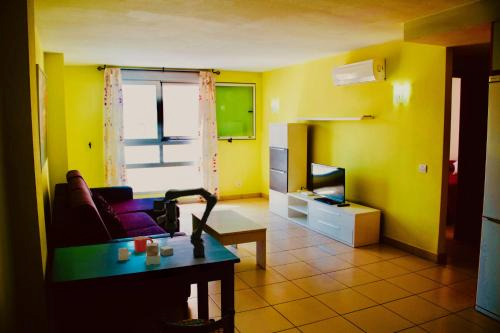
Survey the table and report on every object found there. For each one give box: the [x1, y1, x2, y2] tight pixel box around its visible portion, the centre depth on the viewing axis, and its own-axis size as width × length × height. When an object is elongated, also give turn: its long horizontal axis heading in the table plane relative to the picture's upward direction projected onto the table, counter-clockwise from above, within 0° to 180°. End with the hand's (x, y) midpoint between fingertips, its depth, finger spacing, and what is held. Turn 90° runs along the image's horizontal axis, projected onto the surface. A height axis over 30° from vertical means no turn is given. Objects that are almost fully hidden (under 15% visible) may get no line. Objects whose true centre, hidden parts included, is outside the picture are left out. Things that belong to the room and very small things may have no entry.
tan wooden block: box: [159, 245, 174, 257], centre depth 242 cm, size 6×6×4 cm
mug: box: [133, 236, 154, 253], centre depth 250 cm, size 8×12×8 cm, turn 107°
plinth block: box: [145, 251, 162, 266], centre depth 227 cm, size 8×8×5 cm
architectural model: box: [118, 247, 132, 261], centre depth 233 cm, size 3×7×7 cm, turn 105°
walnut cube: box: [145, 242, 160, 256], centre depth 226 cm, size 6×6×6 cm
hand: (172, 236), depth 234 cm, fingers open, 9 cm apart
